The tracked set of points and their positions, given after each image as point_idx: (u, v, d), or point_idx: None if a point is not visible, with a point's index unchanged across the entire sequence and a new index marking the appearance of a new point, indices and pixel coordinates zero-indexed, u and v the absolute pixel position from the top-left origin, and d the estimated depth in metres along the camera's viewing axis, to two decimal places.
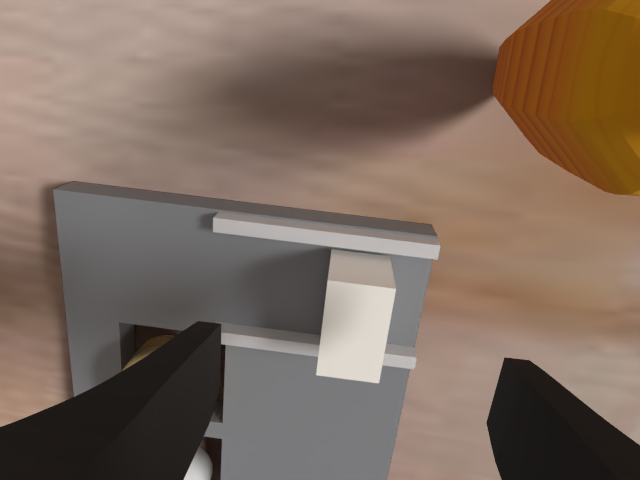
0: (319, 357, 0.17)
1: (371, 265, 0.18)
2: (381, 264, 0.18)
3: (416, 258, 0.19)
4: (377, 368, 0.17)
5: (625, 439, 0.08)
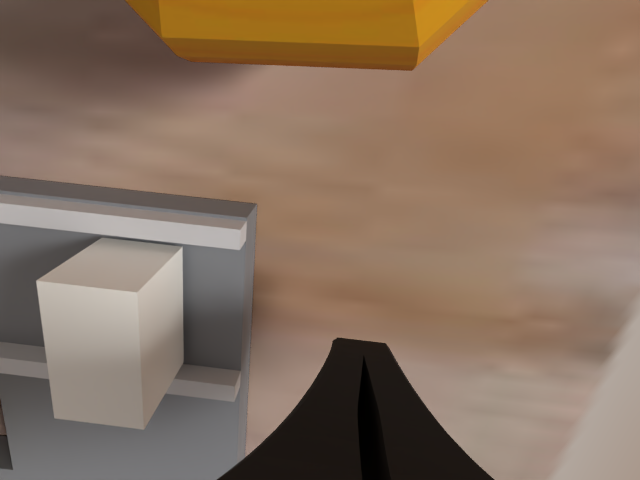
0: (52, 393, 0.12)
1: (137, 259, 0.12)
2: (155, 257, 0.13)
3: (223, 249, 0.14)
4: (137, 408, 0.12)
5: (425, 414, 0.08)
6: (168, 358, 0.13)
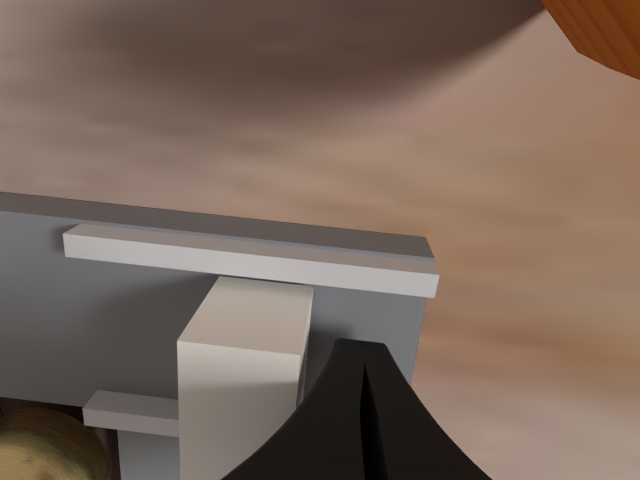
0: (181, 467, 0.10)
1: (274, 305, 0.11)
2: (292, 303, 0.11)
3: (401, 293, 0.12)
4: None
5: (423, 414, 0.08)
6: None
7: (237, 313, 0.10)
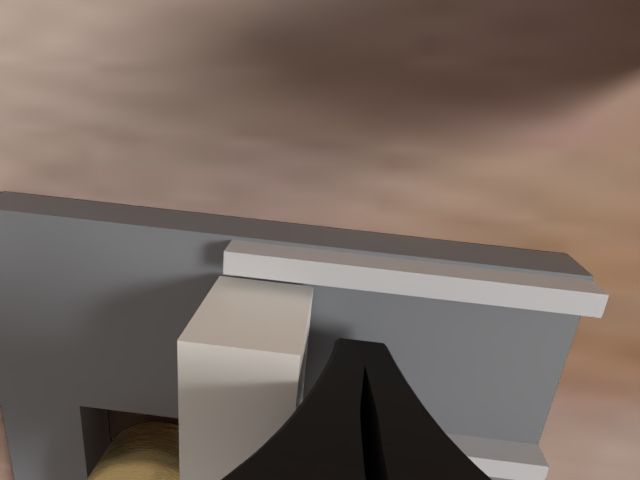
0: (181, 467, 0.10)
1: (274, 305, 0.11)
2: (292, 303, 0.11)
3: (554, 311, 0.12)
4: None
5: (423, 414, 0.08)
6: None
7: (237, 313, 0.10)
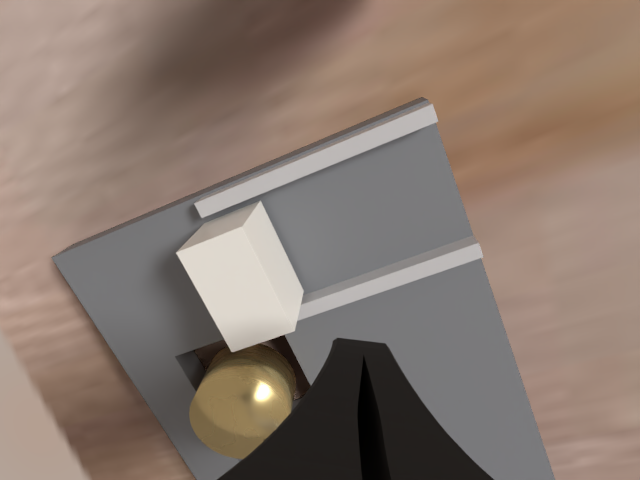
0: (222, 333, 0.16)
1: (233, 217, 0.16)
2: (245, 211, 0.16)
3: (419, 136, 0.16)
4: (282, 316, 0.15)
5: (425, 414, 0.08)
6: (290, 283, 0.17)
7: (211, 230, 0.16)
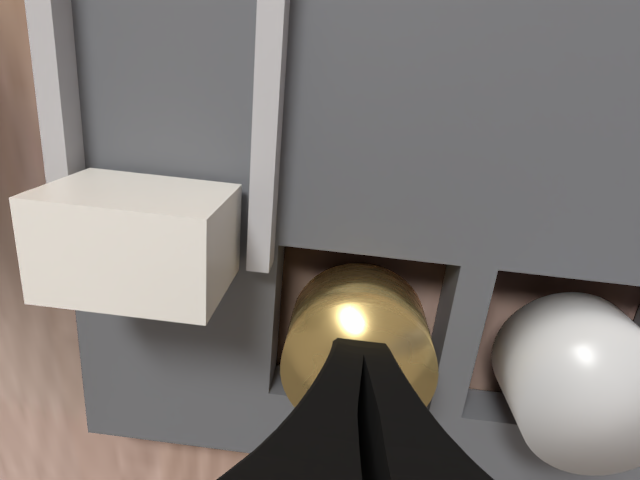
0: (168, 319, 0.10)
1: None
2: None
3: None
4: (173, 223, 0.09)
5: (425, 414, 0.08)
6: (190, 191, 0.11)
7: None
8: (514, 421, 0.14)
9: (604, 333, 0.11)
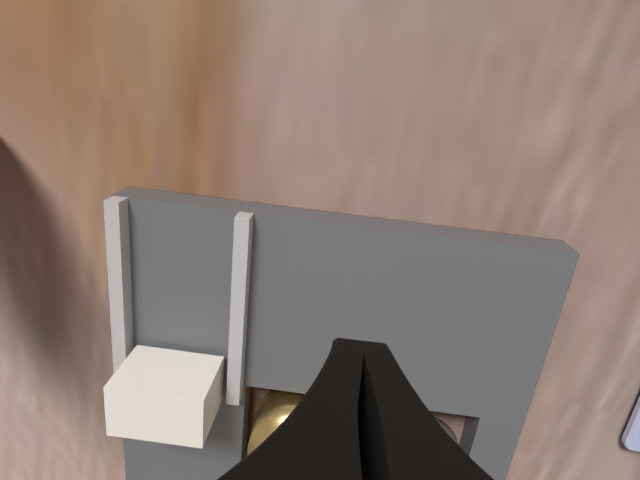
0: (182, 445, 0.19)
1: None
2: None
3: (137, 214, 0.19)
4: (187, 402, 0.18)
5: (425, 414, 0.08)
6: (194, 369, 0.20)
7: None
8: None
9: None
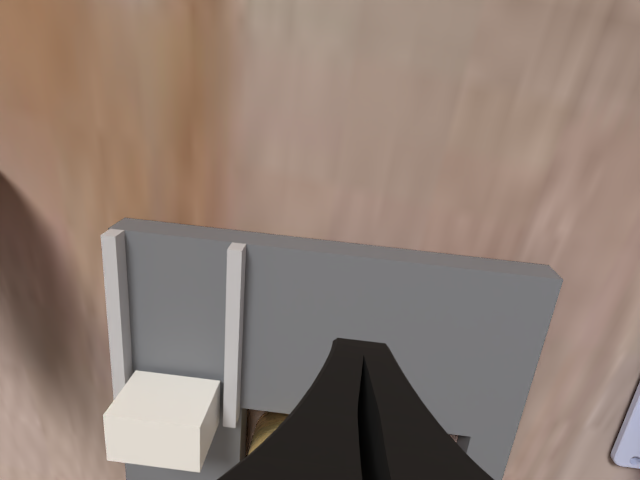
0: (180, 469, 0.19)
1: None
2: None
3: (133, 245, 0.20)
4: (184, 428, 0.19)
5: (425, 414, 0.08)
6: (191, 394, 0.20)
7: None
8: None
9: None
